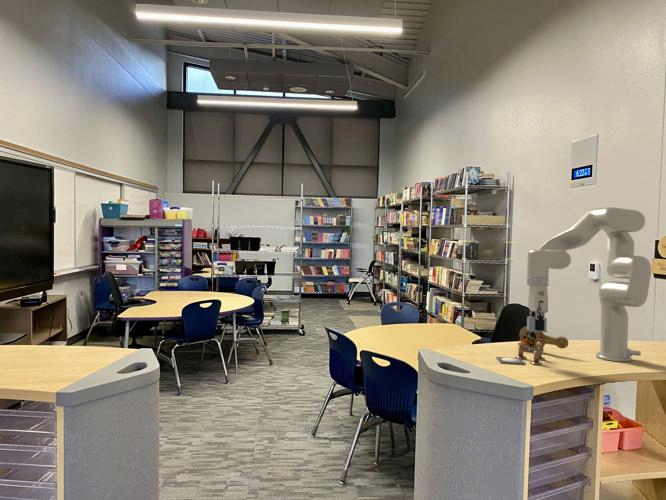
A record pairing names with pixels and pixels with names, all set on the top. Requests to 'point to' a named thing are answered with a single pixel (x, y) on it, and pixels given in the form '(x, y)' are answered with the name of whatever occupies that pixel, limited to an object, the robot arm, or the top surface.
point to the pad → (510, 360)
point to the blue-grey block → (532, 324)
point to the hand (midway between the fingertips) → (536, 328)
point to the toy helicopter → (540, 339)
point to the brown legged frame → (536, 352)
